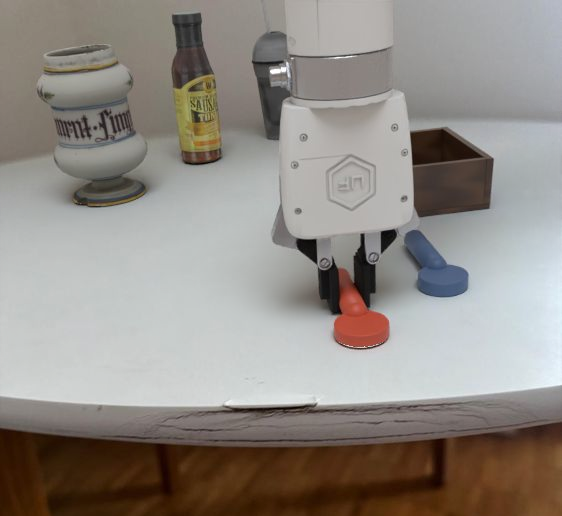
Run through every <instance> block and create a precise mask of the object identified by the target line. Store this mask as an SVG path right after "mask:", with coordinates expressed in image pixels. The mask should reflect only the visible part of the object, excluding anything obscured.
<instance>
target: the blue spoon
mask: <svg viewBox="0 0 562 516" xmlns="http://www.w3.org/2000/svg"><path fill="white" fill-rule="evenodd" d="M403 242H404V246H405V247H406V248H407V249H408V251H409V252H410V253H411V255H412V256H413V258H414V259H415V260H416V261H417V263H418V264H419V266H420V267H421V268H420V270H419V271H418V273H417V288H418V290H419V291H420V292H422V293H424V294H425V295H429V296H433V297H440V298H441V297H443V298H444V297H454V296H459V295H461V294H463V293H465V292H466V291H468V290H467V289H468V287H469V277H470V276H469V272H468V270H467V269H465V268H463V267H461V266H459V265H454V264H448V263H447V261H446V260H445V259H444V257H443V256H442V254H440V253H439V251H438V250H437V249H436V247H435V246H434V245H433V244H432V243H431V242H430V241H429V239H428V238H427V237H426V235H424V234H423V232H421V231H420V230H418V229H413V230H411V231H409V232H407V233H406V234H404V238H403Z"/></svg>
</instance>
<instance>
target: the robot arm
mask: <svg viewBox="0 0 562 516" xmlns="http://www.w3.org/2000/svg"><path fill="white" fill-rule="evenodd" d="M283 3H284V16H285V32H286V35H287V49H288V53H286V57H287V60H284V63H283V64H279V66H273V67H269V79H270V85H271V87H273V86H281V88H283V87H286V89H287V90H288V91H289V92H290V93H291V94H290V95H291V97H289V98H286V99H285V100H283V103H282V110H281V120H280V136H279V140H278V183H279V184H278V187H279V189H278V190H279V201H280V203H279V206H278V209H277V212H276V215H275V218H274V222H273V225H272V227H271V231H270V238H271V241H272V243H273V244H274V245H276V246H279V247H283V248H287V249H291V250H297V251H299V252H300V253H301V254H303V256H305V257H307V258H308V259H309V260H310V261H311V262H312V263H314V264H315V265H316V266H317V283H318V284H317V285H318V295H319V298H320V301H326V302H327V305H328V307H329V311H330V313H338V312H339V311H341V309H340V306H339V301H340V291H339V271H338V268H339V267H338V265H337V264H336V262H335V261H336V260H335V258H334V256H333V246H332V243H333V242H332V238H336V237H344V236H353V235H358V248H357V249H356V251H355V252H354V255H353V257H352V258H353V259H352V261H353V282H354V284H355V286H356V288H357V290H358V292H359V294H360V296H361V297H362V299H363V301H364V303H365V305H366V307H367V309H370V308H371V295H374V294H376V293H377V292H376V291H377V270H376V269H377V267H376V266H377V264H378V263H379V262H380V260H381V258H382V255H383V254H384V253H385V252H386V250H387V249H388V248H389V247H390V246H391V245H392V244H393V243H394V241H396V239H397V238H398V237H402V236H405V235H406V234H407V232H409V231H411V230H416V229H417V228H418V227H419V226H420V224H421V219H420V217H418V214H417V212H416V209H415V207H414V205H413V204H414V190H413V168H412V152H411V139H410V131H411V128H410V121H409V114H408V105H407V102H406V96H405V93H404V92H403V91H400V90H398V89H397V88H394V46H393V45H394V5H395V3H394V0H284V2H283Z"/></svg>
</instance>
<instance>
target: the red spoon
mask: <svg viewBox="0 0 562 516" xmlns="http://www.w3.org/2000/svg"><path fill="white" fill-rule="evenodd" d="M337 268H338V271H339V291H340V301H339V306H340V311H341V313H342V314H339V316H337V317H336V318H335V319H334V321H333V337H335V338H334V340H335V339H336V340H337V341H338V342H340V343H342V344H345V345H349V346H353V347H364V346H365V347H368V346H373V345H376V344H380V343H382V342H384V341H385V340H386V339H387V338H388V339H389V337H390V320H389V319H388V317H387V316H386V315H384V314H383V313H381V312H378V311H374V310H369V308H367V307H366V305H365V303H364V301H363V299H362V297H361V296H360V294H359V292H358V290H357V288H356V286H355V284H354V279H352V277H351V274H350V272H349V271H348V270H347V269H345V268H343V267H337ZM388 336H389V337H388ZM388 339H387V340H388ZM336 340H335V341H336ZM387 340H386V341H387ZM337 341H336V342H337ZM386 341H385V342H386ZM338 342H337V343H338ZM385 342H384V343H385Z"/></svg>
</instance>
